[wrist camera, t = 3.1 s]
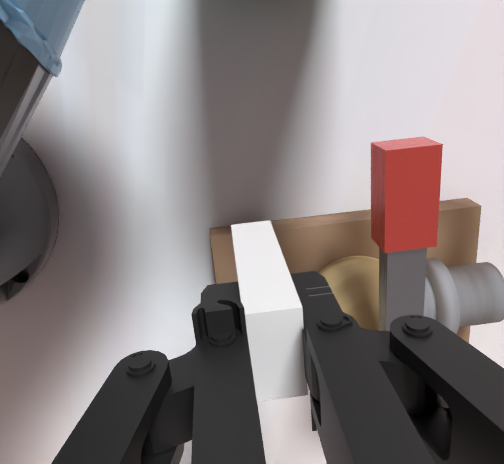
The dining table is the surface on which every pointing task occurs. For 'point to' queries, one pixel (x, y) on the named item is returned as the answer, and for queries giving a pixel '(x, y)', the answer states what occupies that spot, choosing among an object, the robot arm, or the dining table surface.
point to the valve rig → (367, 265)
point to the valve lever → (404, 221)
